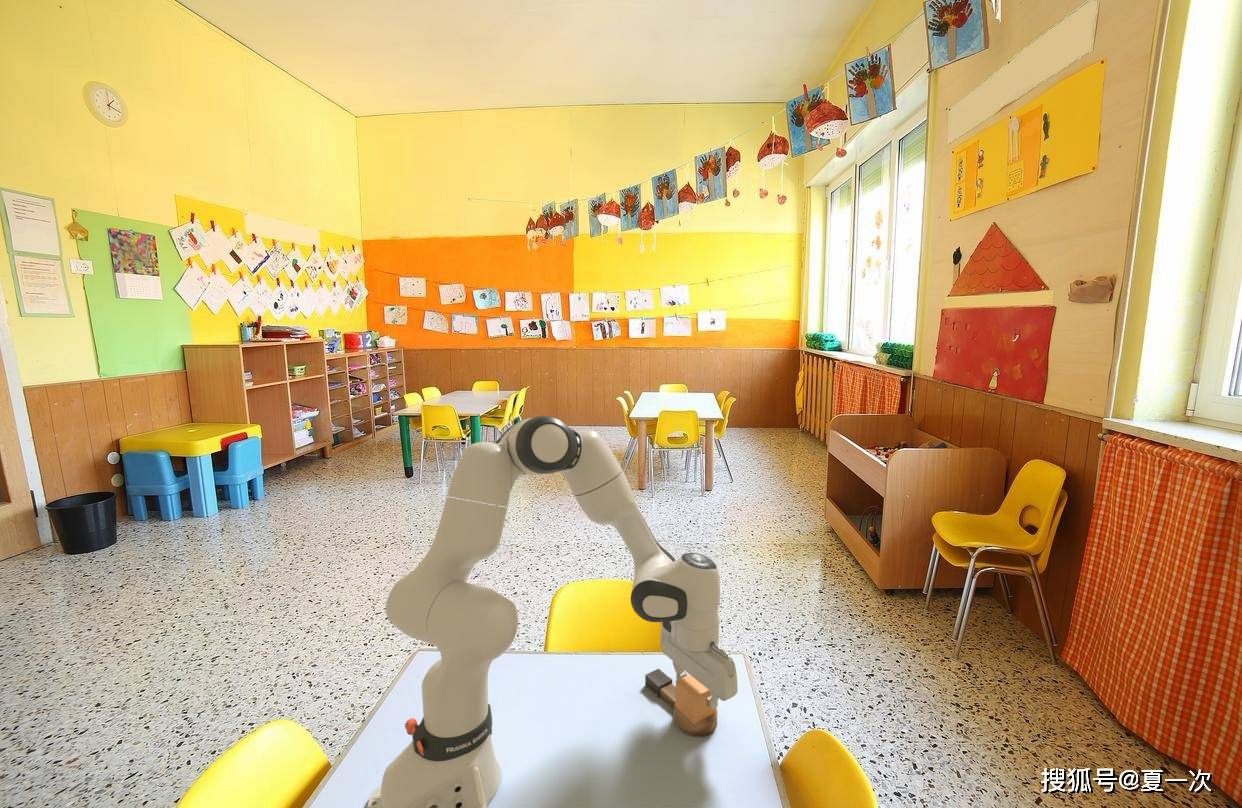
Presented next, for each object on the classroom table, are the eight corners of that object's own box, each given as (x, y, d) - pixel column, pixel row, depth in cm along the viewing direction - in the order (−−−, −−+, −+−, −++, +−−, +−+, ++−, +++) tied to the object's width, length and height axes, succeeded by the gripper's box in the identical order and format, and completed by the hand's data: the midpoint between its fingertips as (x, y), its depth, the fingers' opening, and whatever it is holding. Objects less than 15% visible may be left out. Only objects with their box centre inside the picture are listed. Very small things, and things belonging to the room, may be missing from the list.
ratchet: (694, 743, 104) (694, 718, 104) (636, 689, 120) (636, 667, 119) (726, 724, 109) (726, 700, 109) (666, 674, 125) (666, 653, 124)
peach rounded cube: (715, 712, 109) (716, 686, 108) (693, 724, 106) (694, 697, 105) (696, 695, 114) (697, 670, 113) (675, 706, 111) (675, 680, 110)
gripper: (746, 652, 100) (743, 717, 102) (677, 606, 117) (676, 663, 119) (722, 663, 97) (720, 730, 99) (655, 614, 114) (654, 673, 116)
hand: (696, 693), depth 109 cm, fingers open, 8 cm apart
